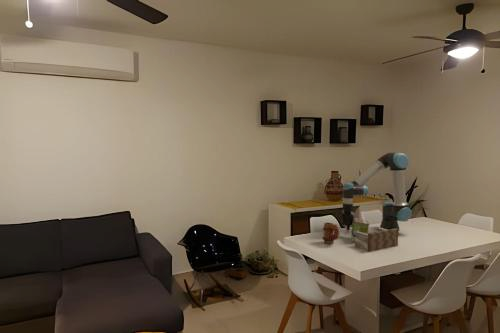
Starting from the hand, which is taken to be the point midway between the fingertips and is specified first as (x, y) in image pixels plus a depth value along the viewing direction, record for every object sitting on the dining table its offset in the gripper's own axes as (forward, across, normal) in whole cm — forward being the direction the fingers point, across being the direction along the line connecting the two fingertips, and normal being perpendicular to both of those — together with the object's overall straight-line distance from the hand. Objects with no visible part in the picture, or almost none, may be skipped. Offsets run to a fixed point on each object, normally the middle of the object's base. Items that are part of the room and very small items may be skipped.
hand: (347, 233), depth 267 cm
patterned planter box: (+2, +27, 0) cm, 27 cm away
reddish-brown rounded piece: (+3, +8, -24) cm, 25 cm away
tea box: (+2, +11, 0) cm, 11 cm away
